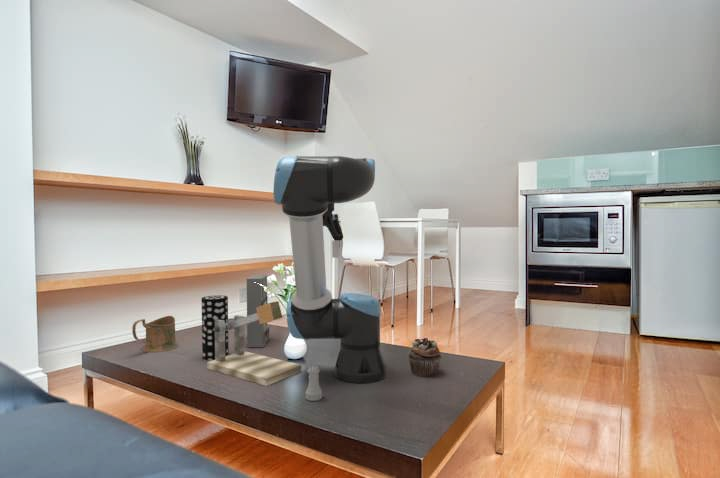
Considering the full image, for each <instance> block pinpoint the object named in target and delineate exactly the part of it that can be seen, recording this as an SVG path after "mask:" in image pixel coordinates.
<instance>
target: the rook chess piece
mask: <svg viewBox="0 0 720 478" xmlns="http://www.w3.org/2000/svg"><path fill="white" fill-rule="evenodd" d="M306 372H307V373H308V376H307V377H308V384H307V388H306V390H305V392H304V394H305V396H304V397H305V399H306V401H309V402H317V401H320V400H322V398H323V396H324V395H323V390H322V389H321V387H320V381H319V379H320V374H319V373H320V372H321V369H320V368H319V365H317V364H316V365H314V364H312V365H309V366H308V369H307V371H306Z"/></svg>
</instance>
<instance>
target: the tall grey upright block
mask: <svg viewBox="0 0 720 478" xmlns="http://www.w3.org/2000/svg"><path fill="white" fill-rule="evenodd" d="M254 282H256V283H254ZM257 283H259V284H262V285H264V286H266V287H267V288H268V275H267V273H266V274H264V273H263V274H252V275H251V276H249V277H247V278H246V316H249V315H252V314H255V313H257V310H256V308H257V307H259V306H262V305H265V304H268V303H269V302H268V301H269V300H268V291H267V292H265V291H264V288H263V287H262V286H260V285H259V284H257ZM246 331H247V332H246V335H247V336H246V338H247V339H246V341H247V343H246V347H247V348H250V349H251V348H264V347H265V345H266V343H267V342H268V340H269V338H270V327H268V322H267V323H263V324H260V322H259V320H258V321H255V322H252V323H249V324H246Z"/></svg>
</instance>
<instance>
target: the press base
mask: <svg viewBox="0 0 720 478" xmlns="http://www.w3.org/2000/svg"><path fill="white" fill-rule="evenodd" d="M244 317H245V316H244V315H234V316H233V321H235V320H238V319H241V318H244ZM214 331H215V360H212V361H210V360H208V361H207V362H206V366H207V367H206V369H207V370H211V371H215V372H218V373H221V374H225V375H228V376H231V377H235V378H238V379H241V380H245V381H248V382H252V383H255V384H258V385H262V386H264V387H268V386H270V385H273V384H274V383H278V382H280V381H282V380H284V379H287V378H290V377H292V376H294V375H296V374H299V373H302V364H300V363H295V362H292V361H287V360H283V359H278V358H274V357H269V356H265V355H262V354H257V353H253V352H250V351H249V352H248V351H245V325H243V326H240V327H237V328H235V329H233V331H234V333H233V334H234V336H233V337H234V353H232V354H230V355H229V356H225V321H224V320H215V327H214Z"/></svg>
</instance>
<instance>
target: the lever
mask: <svg viewBox="0 0 720 478" xmlns="http://www.w3.org/2000/svg"><path fill="white" fill-rule="evenodd" d="M256 310H257V313H255V314H252V315H249V316H247V315H246V316H244V318H241V319H238V320H235V321H234V320H233V321H228V323H225V331H228V332H229V331H231V330H234V329H235V328H237V327H240V326H243V325H244V326H245V325H246V326H247V324H249V323H252V322H255V321H258V320H259V322H260V324H263V323H267V324H268V323H271V322H274V321H277V320H280V319H282V318H283V314H282V310H281V307H280V302H279V301H278V300H277V301H271V302H268V304H265V305H262V306H259V307H257V308H256Z"/></svg>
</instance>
